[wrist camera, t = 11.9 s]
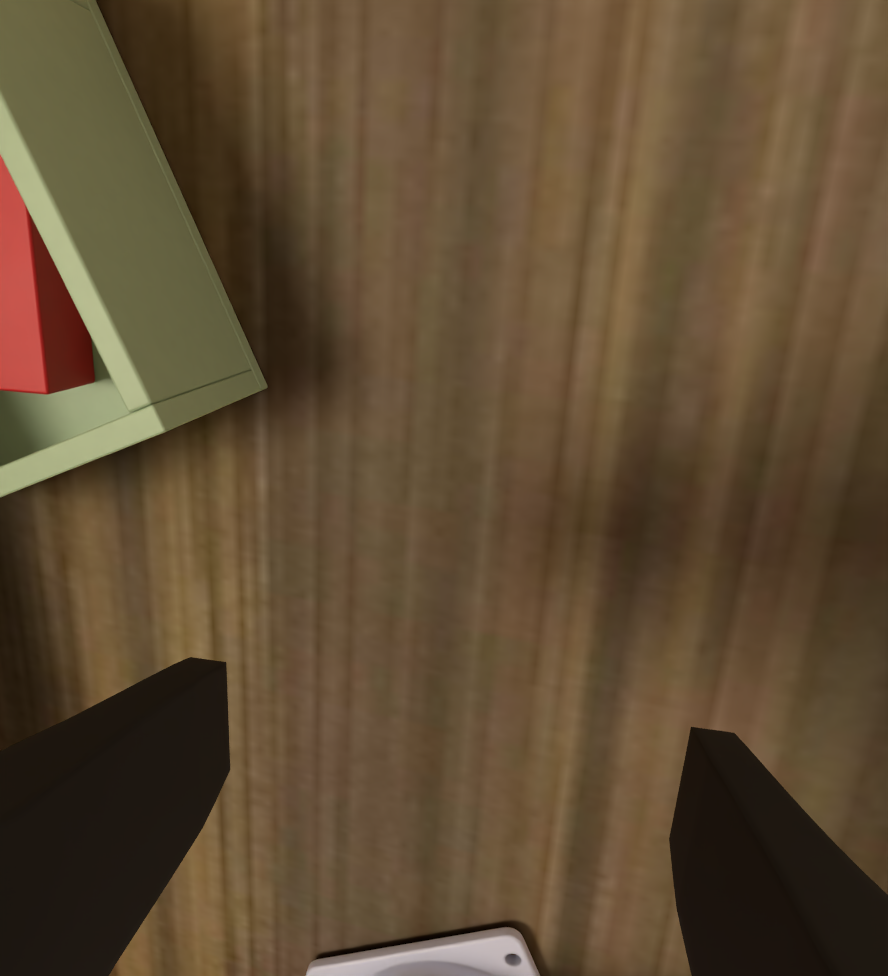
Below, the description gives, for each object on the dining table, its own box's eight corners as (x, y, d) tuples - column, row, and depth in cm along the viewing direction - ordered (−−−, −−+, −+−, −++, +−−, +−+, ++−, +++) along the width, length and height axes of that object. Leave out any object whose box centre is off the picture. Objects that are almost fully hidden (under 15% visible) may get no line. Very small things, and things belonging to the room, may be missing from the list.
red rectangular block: (96, 383, 20) (48, 395, 18) (-9, 373, 20) (-68, 384, 18) (76, 144, 18) (19, 130, 16) (-41, 138, 18) (-109, 124, 17)
